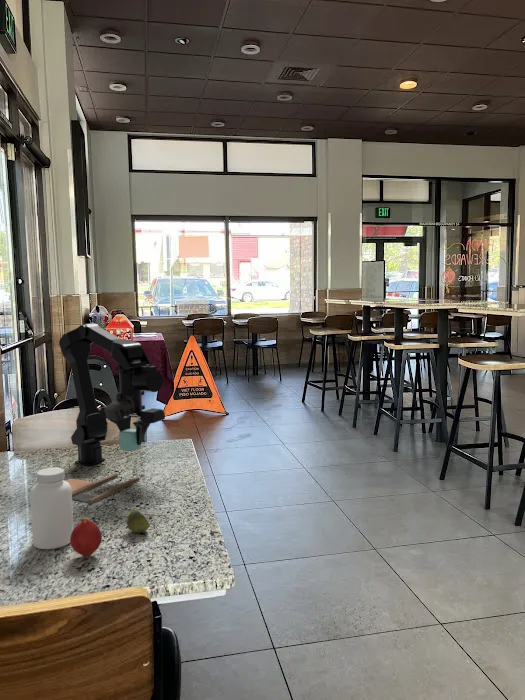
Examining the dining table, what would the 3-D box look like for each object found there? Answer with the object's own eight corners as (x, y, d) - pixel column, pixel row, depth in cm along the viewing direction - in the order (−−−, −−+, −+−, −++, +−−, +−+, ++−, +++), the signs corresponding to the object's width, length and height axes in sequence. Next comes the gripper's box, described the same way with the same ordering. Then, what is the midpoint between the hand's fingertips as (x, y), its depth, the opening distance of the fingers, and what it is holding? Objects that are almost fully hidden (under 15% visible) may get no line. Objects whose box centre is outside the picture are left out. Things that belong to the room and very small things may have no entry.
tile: (48, 490, 145) (47, 487, 145) (71, 481, 152) (71, 478, 152) (70, 495, 141) (70, 492, 141) (93, 485, 148) (93, 482, 148)
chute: (65, 498, 139) (65, 495, 139) (114, 476, 155) (114, 473, 155) (91, 503, 136) (91, 500, 135) (139, 480, 152) (139, 477, 151)
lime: (129, 527, 122) (128, 505, 121) (151, 527, 121) (151, 505, 121) (124, 536, 117) (123, 513, 117) (147, 536, 117) (146, 513, 116)
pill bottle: (82, 536, 118) (78, 467, 116) (56, 553, 110) (52, 479, 108) (51, 531, 120) (47, 463, 119) (24, 547, 113) (19, 475, 111)
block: (120, 449, 153) (119, 431, 153) (130, 445, 157) (129, 428, 156) (131, 451, 152) (130, 433, 151) (141, 447, 155) (140, 430, 154)
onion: (75, 550, 111) (73, 511, 110) (105, 548, 112) (103, 510, 111) (68, 564, 105) (65, 524, 105) (99, 563, 106) (97, 522, 105)
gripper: (83, 391, 150) (86, 447, 152) (138, 396, 142) (141, 455, 144) (111, 384, 160) (114, 437, 162) (165, 388, 152) (167, 444, 154)
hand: (132, 443), depth 155 cm, fingers closed on block, 4 cm apart
